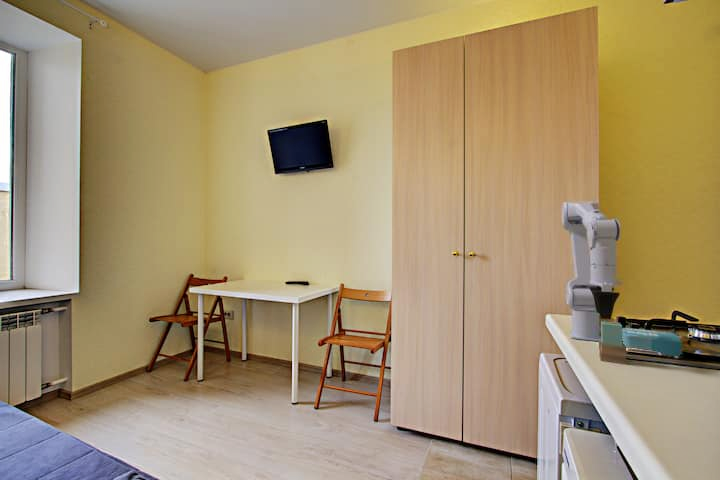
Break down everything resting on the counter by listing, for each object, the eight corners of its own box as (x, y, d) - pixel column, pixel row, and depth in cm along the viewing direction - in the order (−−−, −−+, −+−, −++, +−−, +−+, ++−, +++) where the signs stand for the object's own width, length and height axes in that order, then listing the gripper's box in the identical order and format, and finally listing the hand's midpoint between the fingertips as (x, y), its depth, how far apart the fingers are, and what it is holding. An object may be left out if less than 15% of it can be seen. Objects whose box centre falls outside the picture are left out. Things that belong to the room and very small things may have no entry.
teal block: (601, 340, 92) (601, 321, 92) (620, 342, 90) (619, 322, 90) (602, 344, 88) (602, 324, 88) (622, 346, 86) (622, 325, 86)
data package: (623, 335, 95) (621, 327, 105) (623, 352, 95) (622, 342, 105) (683, 342, 88) (675, 332, 98) (683, 360, 88) (675, 349, 98)
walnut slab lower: (599, 357, 92) (599, 348, 92) (623, 360, 90) (623, 351, 90) (600, 362, 88) (600, 353, 88) (625, 366, 85) (625, 356, 86)
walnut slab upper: (598, 348, 92) (598, 339, 92) (622, 351, 90) (622, 342, 90) (601, 353, 88) (601, 344, 88) (626, 356, 86) (626, 346, 86)
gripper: (626, 266, 85) (627, 322, 85) (617, 263, 98) (617, 312, 98) (592, 266, 89) (592, 319, 89) (587, 263, 101) (587, 310, 101)
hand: (603, 315), depth 93 cm, fingers open, 7 cm apart
